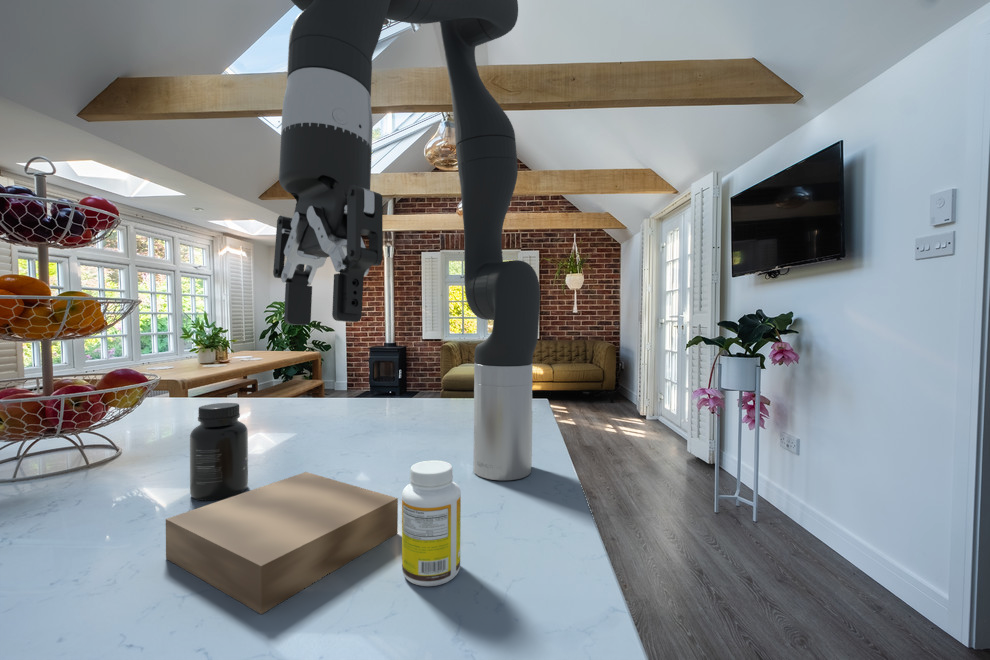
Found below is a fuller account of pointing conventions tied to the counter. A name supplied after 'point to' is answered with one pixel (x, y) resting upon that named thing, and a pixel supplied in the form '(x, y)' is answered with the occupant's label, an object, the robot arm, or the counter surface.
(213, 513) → the walnut block
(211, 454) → the supplement bottle
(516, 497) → the counter surface
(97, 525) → the counter surface
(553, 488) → the counter surface
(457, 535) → the supplement bottle
